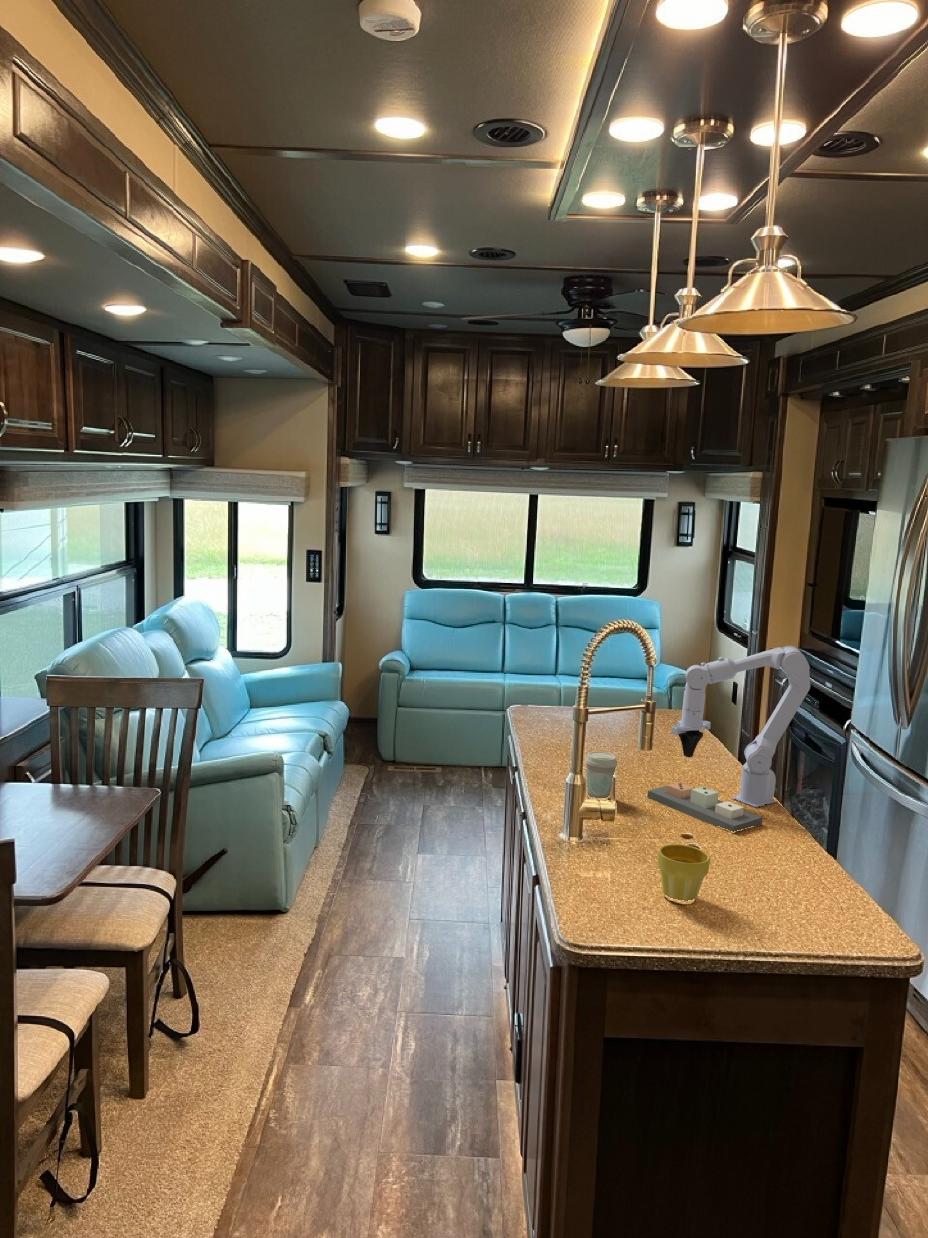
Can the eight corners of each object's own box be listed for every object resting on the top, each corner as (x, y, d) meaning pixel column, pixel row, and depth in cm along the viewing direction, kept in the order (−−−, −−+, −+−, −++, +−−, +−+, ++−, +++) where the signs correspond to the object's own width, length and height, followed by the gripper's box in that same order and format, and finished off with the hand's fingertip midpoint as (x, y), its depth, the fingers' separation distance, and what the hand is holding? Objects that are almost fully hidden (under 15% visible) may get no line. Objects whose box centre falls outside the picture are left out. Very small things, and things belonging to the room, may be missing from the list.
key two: (701, 800, 242) (703, 785, 242) (717, 806, 238) (718, 791, 238) (689, 803, 239) (691, 788, 239) (705, 810, 235) (706, 794, 235)
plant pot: (668, 881, 195) (672, 839, 193) (713, 898, 189) (718, 854, 187) (645, 897, 187) (649, 852, 185) (691, 914, 181) (696, 868, 179)
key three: (677, 796, 249) (679, 781, 248) (692, 802, 245) (693, 787, 244) (665, 799, 246) (667, 784, 245) (680, 805, 242) (681, 790, 241)
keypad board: (676, 790, 254) (676, 783, 253) (761, 824, 232) (762, 817, 231) (647, 797, 246) (648, 790, 246) (733, 833, 224) (734, 826, 224)
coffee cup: (577, 799, 241) (581, 756, 239) (588, 790, 249) (592, 748, 247) (607, 806, 237) (612, 762, 235) (618, 797, 245) (622, 754, 243)
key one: (725, 815, 236) (727, 800, 236) (742, 822, 232) (743, 806, 232) (713, 819, 233) (715, 803, 233) (730, 825, 229) (731, 810, 229)
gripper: (698, 702, 256) (693, 748, 258) (664, 708, 247) (659, 755, 250) (718, 708, 251) (713, 755, 253) (684, 714, 242) (679, 763, 244)
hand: (687, 756), depth 251 cm, fingers closed
